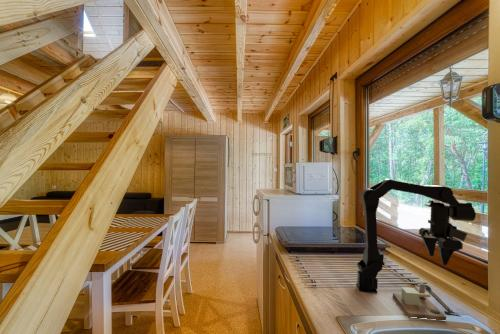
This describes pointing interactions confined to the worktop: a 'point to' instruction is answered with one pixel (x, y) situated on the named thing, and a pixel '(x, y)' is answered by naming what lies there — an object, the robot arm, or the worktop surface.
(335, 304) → the worktop surface
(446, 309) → the tactical tomahawk
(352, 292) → the worktop surface
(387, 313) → the worktop surface
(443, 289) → the worktop surface
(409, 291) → the pointer block
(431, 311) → the board
